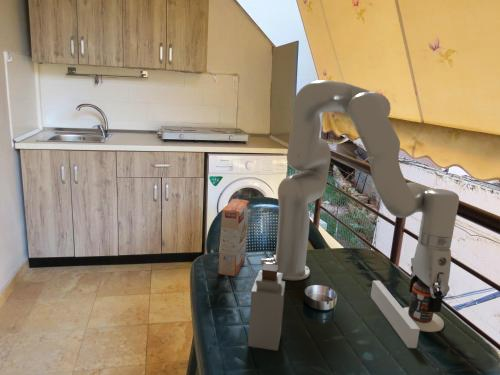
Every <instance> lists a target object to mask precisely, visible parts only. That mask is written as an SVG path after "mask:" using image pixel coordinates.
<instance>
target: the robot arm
mask: <svg viewBox="0 0 500 375" xmlns="http://www.w3.org/2000/svg"><path fill="white" fill-rule="evenodd" d="M292 104H293V106H292V116H291V125H290V131H289V136H288V137H289V138H288V144H287V145H288V146H287V153H286V160H287V164H288V166H289V167H290V168H291V169H292V170H294V171H298V173H294V174H292V175H288V176H286V177H284V178H283V179H282V180H281V182H280V183H279V185H278V187H277V200H278V222H277V234H276V235H277V238H276V247H275V248H276V249H275V254H273V257H270V258H266V257H264V258H263V257H261V258H260V265H264V264H271V265H278V271H277V273H283V275H282V279H281V280H285V281H302V280H304V279H307V278H308V277H309V276H310V273H311V270H310V268H309V266H307V265H306V263H307V262H306V261H307V254H308V252H307V251H308V243H309V233H310V220H311V219H310V217H311V216H310V211H309V205H308V204H309V203H311V202H315V201H317V200H319V199H320V198H321V197H322V196H323V195H324V194H325V191H326V189H327V184H328V178H329V171H330V166H331V165H330V164H331V159H332V156H331V155H332V152H331V148H330V146H329V143H328V142H327V141H326V140H325V139H323V138H322V137H320V133H321V126H322V124H321V117H320V115H321V114H322V113H327V112H328V113H341V114H343V115H347V116H349V118H350V121H351V122H352V124H353V126H354V129H355V131H356V132H357V134H358V137H359V138H360V141H361V143H362V145H363V147H364V149H365V151H366V153H367V157H368V160H369V161H368V162H369V167H370V168H369V169H370V173H371V179H372V182H373V185H374V187H375V191H376V192H377V194H378V196H379V198H380V200H381V202H382V204H383V206H384V207H385V209H386V210H387V211H388V212H389V214H390V215H392V216H394V217H396V218H400V219H402V218H403V219H404V218H409V217H410V216H412V215H414V214H415V213H420V212H421V220H420V226H419V230H418V231H419V232H418V236H417V237H418V238H417V244H416V248H415V252H414V256H413V257H411V258H410V263H411V267H410V271H411V273H410V278H411V279H410V284H409V289H408V292H409V293H410V294H412V289H413V284H414V283H415V282H418V278H420V279H421V280H422V281H423V282H424V283H425V284H426V285H427V286H429V287H430V292H431V296H429V301H428V306H427V311H428V312H434V313H441V310H442V304H443V299H445V297H446V296H447V295H448V293H449V291H450V289H451V288H450V285H449V281H450V275H451V266H452V251H451V246H452V240H453V234H454V231H455V224H456V219H457V213H458V210H459V203H460V196H459V194H457V192H455V191H452V190H449V189H443V188H434V187H430V186H427V185H424V184H421V183H418V182H407V181H406V179H405V177H404V175H403V172H402V169H401V166H400V160H399V156H400V155H399V154H400V149H401V140H400V139H399V136H398V134H397V132H396V130H395V128H394V127H393V125H392V122H391V121H390V119H389V117H390V113H391V103H390V101H389V99H388V98H387V97H386V95H383V94H382V93H379V92H376V91H372V90H369V89H366V88H363V87H360V86H356V85H353V84H350V83H346V82H342V81H334V80H327V79H326V80H325V79H321V80H315V81H312V82H309V83H307V84H306V85H304V86H303V87H302V88H300V90H299V91H298V92H297V93H296V95H295V97H294V101H293V103H292ZM433 283H435V285H433ZM434 288H437V290H438V291H437V292H436V293H435V289H434Z"/></svg>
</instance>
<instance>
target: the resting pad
mask: <svg viewBox="0 0 500 375" xmlns="http://www.w3.org/2000/svg"><path fill="white" fill-rule="evenodd" d="M402 308H403V309H404V310H405V312H406V313H407V314H408V310H409V306H407V307H406V306H405V307H402ZM408 315H409V314H408ZM410 318H411V317H410ZM411 319H412V318H411ZM412 320H413V321H414V322H415V324H416V325H417V326H418V327H419V328H420V331H421V332H425V333H426V332H428V333H436V332H440V331H442V330H443V329H444V326H445V322H444V320H443V319H442V318H441V317H440V316H439V315H438V314H436V312H434V314H433V318H432V320H431V321H430V322H427V323H423V322H418V321H416V320H414V319H412ZM420 331H419V332H420Z"/></svg>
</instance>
